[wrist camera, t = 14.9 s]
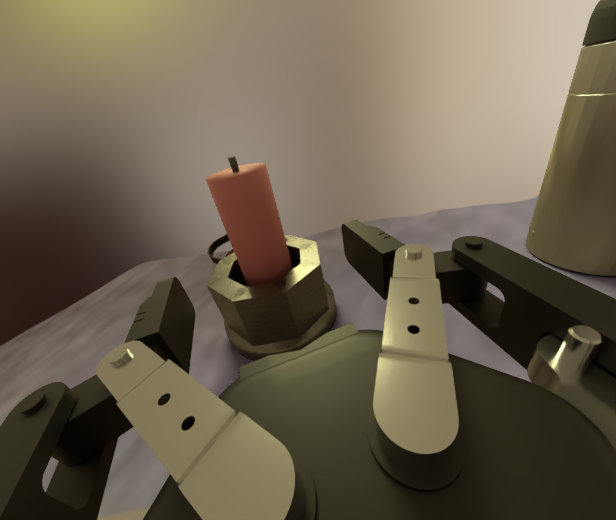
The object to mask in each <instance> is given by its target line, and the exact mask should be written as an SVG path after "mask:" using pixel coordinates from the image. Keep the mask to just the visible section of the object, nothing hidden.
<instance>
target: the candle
mask: <svg viewBox="0 0 616 520" xmlns="http://www.w3.org/2000/svg"><path fill="white" fill-rule="evenodd" d="M228 159H229V162H230V165H231V168H230V169H226V170H223V171H220V172H217V173H215V174H213V175H211V176H209V177H207V178H206V181H207V184H208V186H209V189H210V191H211V194H212V197H213V199H214V201H215V204H216V207H217V209H218V212H219V214H220V217H221V220H222V222H223V225H224V227H225V230H226V232H227V235H228V237H229V240H230V242H231V245H232V247H233V250H234V253H235V255H236V258H237V260H238V263H239V265H240V268H241V271H242V273H243V276H244V278H245V281H246V283H247V286H252V285H257V284H263V283H268V282H273V281H278V280H279V279H281V278H282V277H283V276H285V275H286V274H287V273H289V272H290V271H291V270H293V267H292V263H291V259H290V255H289V251H288V248H287V244H286V240H285V236H284V232H283V229H282V225H281V221H280V217H279V213H278V210H277V206H276V202H275V198H274V194H273V191H272V187H271V183H270V179H269V175H268V172H267V168H266V164H263V163H254V164H247V165H242V166H238V164H237V161H236V158H235V156H233V157H229V158H228Z"/></svg>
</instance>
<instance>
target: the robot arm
mask: <svg viewBox="0 0 616 520" xmlns="http://www.w3.org/2000/svg"><path fill="white" fill-rule="evenodd" d="M584 45H586V46H585V47H583V48H582V49H581V52H580V55H579V59H578V62H577V66H576V69H575V73H574V76H573V79H572V83H571V86H570V90H569V94H568V97H567V100H566V104H565V107H564V111H563V114H562V117H561V121H560V124H559V128H558V131H557V135H556V138H555V142H554V145H553V149H552V152H551V155H550V159H549V162H548V166H547V169H546V173H545V176H544V180H543V183H542V187H541V190H540V193H539V197H538V200H537V204H536V207H535V211H534V214H533V218H532V221H531V223H530V227H529V232H528V235H527V239H526V246H527V248H528V250H529V251H530V252H531V253H532V254H533V255H535V256H536V257H538V258H539V259H541V260H543V261H545V262H548V263H550V264H552V265H555V266H558V267H561V268H564V269H568V270H572V271H576V272H581V273H587V274H593V275H603V276H616V0H600V1H599V3H598V4H597V5H596V7H595V9H594V11H593V13H592V15H591V18H590V21H589V24H588V27H587V30H586V34H585V38H584V41H583V46H584ZM342 236H343V243H344V251H345V255H346V258H347V260H348V262H349V263H350V264H351V265H352V266H353V268H354V269H355V270H356V271H357V272H358V273H359V274H360V275H361V276H362V277H363V278H364V279H365V280H366V281H367V282H368V283H369V284H370V285H371V286H372V287H373V288H374V289H375V291H376V292H377V293H378V294H379V295H380V296H381V297H382V298H383V299H384V300H386V299H388V301H387V309H386V317H385V325H384V331H379V330H357V329H356V327H355V326H354V325H353V323H351V324H348V325H346V326H343V327H341V328H338V329H335V330H333V331H330V332H328V333H326V334H324V335H323V336H321V337H320V338H318V339H317V340H315V341H314V342H312V343H311V344H309V345H308V346H306V347H304V348H303V349H301V350H298V351H293V352H287V353H281V354H276V355H270V356H267V357H264V358H262V359H259V360H256V361H254V362H251V363H249V364H246V365H244V366H241V367H239V370H240V378H239V379H237V380H236V381H235V382H233V383H232V384H231V385H230V386H228V387H227V388H226V389H225V390H224V391H223V392H222V393H221V395H220V396H219V397H217V396H216V395H214V394H213V393H212V392H210V391H209V390H208V389H207V388H205V387H204V386H203V385H202V384H200V383H199V382H198V381H196V380H195V379H194V378H193V377H191V376H190V375H189V367H190V359H191V350H192V341H193V332H194V323H195V310H194V307H193V305H192V303H191V301H190V299H189V297H188V296H187V294H186V292H185V290H184V288H183V287H182V285H181V283H180V281H179V280H178V279H177V278H176V277H174V278H171V279H168V280H165V281H162V282H158V283H157V284H156V287H155V289H154V292H153V294H152V296H151V297H148V298H147V299H146V300H145V301H144V302H143V303H142V305H141V306H140V307H139V310H138V312H137V314H136V315H137V316H136V317H135V319H134V321H133V322H134V323H133V324H132V326H131V329H130V331H129V333H128V336H127V338H126V340H125V343H124V344H122V345H120V346H118V347H117V348H115V349H114V350H112V351H111V352H110V353H108V354H107V355H106V356H105V357H104V358H103V359H102V360H101V362H100V363H99V365H98V367H97V369H96V374H97V375H95V376H93V377H91V378H90V379H88V380H86V381H84V382H83V383H81V384H79V385H77V386H75V387H74V388H72V389H70V388H68V387H67V386H66V385H65V384H64V383H62V382H54V383H51V384H48V385H46V386H43V387H41V388H39V389H38V390H36V391H34V392H33V393H31V394H30V395H28V396H27V397H26V398H25V399H23V400H22V401H21V402H20V403H19V404H18V405H17V406H16V407H15V408H14V409H13V410H12V411H11V412H10V413H9V415H8V416H7V418H6V419H5V421H4V422H3V424H2V425H1V427H0V520H97V517H98V513H99V510H100V506H101V502H102V498H103V494H104V490H105V486H106V483H107V479H108V475H109V471H110V467H111V463H112V460H113V456H114V452H115V448H116V444H117V440H118V437H119V436H120V435H122V434H123V433H125V432H126V431H128V430H129V429H131V428H132V427H134V428H135V429H136V430H137V431H138V433H139V434H140V435H141V437H142V438H143V439H144V441H145V442H146V443H147V444H148V446H149V447H150V448H151V450H152V451H153V452H154V454H155V455H156V456H157V457H158V459H159V460H160V461H161V463H162V464H163V465H164V466H165V468H166V469H167V470H168V472H169V473H170V476H169V477H168V479H167V481H166V482H165V484H164V486H163V487H162V489H161V490H160V492H159V494H158V495H157V497H156V499H155V500H154V502H153V504H152V505H151V507H150V509H149V510H148V512H147V514H146V515H145V517H144V519H143V520H616V299H614V298H612V297H610V296H608V295H606V294H603V293H601V292H599V291H597V290H595V289H593V288H591V287H589V286H586V285H584V284H582V283H580V282H578V281H576V280H574V279H572V278H569V277H567V276H565V275H563V274H561V273H559V272H557V271H554V270H552V269H550V268H548V267H546V266H544V265H542V264H540V263H537V262H535V261H533V260H531V259H529V258H527V257H525V256H522V255H520V254H518V253H516V252H514V251H512V250H510V249H508V248H505V247H503V246H501V245H499V244H497V243H495V242H493V241H490V240H488V239H486V238H482V237H476V236H466V237H460V238H458V239H456V240H454V241H453V244H452V250H451V251H444V252H437V253H433V251H432V250H431V249H430V248H428V247H426V246H423V245H417V244H411V245H404V244H402V243H401V242H399V241H398V240H396V239H395V238H393V237H392V236H391V237H390V235H388V234H387V233H385V232H384V231H382V230H381V229H379V228H376V227H372V226H365V225H364V224H363V223H361V222H360V221H358V220H355V221H351V222H348V223H345V224H343V225H342ZM488 282H489V283H491V284H492V285H494V286H495V287H497V288H498V289H499V290H500V291H501V292H502V293H503V295H504V298H505V302H503V301H502V300H500V299H499V298H497V297H496V296H494V295H493V294H492V293H490V292H489V291H487V290H486V288H487V283H488ZM444 303H449V304H450V305H451V306H453V307H454V308H455V309H456V310H457V311H458V312H460V313H461V314H462V315H463V316H464V317H465V318H467V319H468V320H469V321H470V322H471V323H472V324H474V325H475V326H476V327H477V328H478V329H480V330H481V331H482V332H483V333H484V334H485V335H487V336H488V337H489V338H490V339H491V340H492V341H494V342H495V343H496V344H497V345H498V346H499V347H501V348H502V349H503V350H504V351H505V352H506V353H508V354H509V355H510V356H511V357H512V358H513V359H515V360H516V361H517V362H518V363H519V364H520V365H522V366H523V367H524V368H525V369H526V370H527V373H528V376H529V378H530V380H531V382H532V383H531V382H529V381H526V380H523V379H520V378H517V377H514V376H512V375H509V374H506V373H503V372H500V371H497V370H495V369H492V368H489V367H486V366H483V365H480V364H477V363H475V362H472V361H469V360H466V359H463V358H460V357H458V356H455V355H452V354H449V353H448V350H447V342H446V333H445V325H444V317H443V308H442V304H444ZM51 457H53V458H55V459H56V460H58V461H59V462H58V465H57V467H56V469H55V472H54V474H53V477H52V479H51V481H50V484H49V486H48V488H47V491H46V493H45V492H44V490H43V486H42V478H43V474H44V471H45V469H46V467H47V465H48V463H49V460H50V458H51Z"/></svg>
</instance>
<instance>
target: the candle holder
mask: <svg viewBox="0 0 616 520" xmlns="http://www.w3.org/2000/svg"><path fill="white" fill-rule="evenodd" d="M285 240H286V244H287V248H288V251H289V255H290V259H291V263H292V267H293V270H291V271H290V272H289V273H287V274H286V275H285V276H283V277H282V278H281V279H279V280H278V281H273V282H268V283H263V284H257V285H252V286H247V283H246V281H245V278H244V276H243V273H242V271H241V268H240V265H239V263H238V260H237V258H236V255H235V253H232V254H230V255H229V256H227V257H225V258H223V259H222V260H220V261H219V262H218V264H217V266H216V269H215V271H214V273H213V275H212V277H211V279H210V281H209V283H208V285H207V286H208V288H209V290H210V292H211V294H212V296H213V298H214V300H215V302H216V304H217V306H218V308H219V310H220V312H221V314H222V316H223V318H224V320H225V323H224V324H225V330H226V332H227V335H228V337H229V339H230V341H231V342H232V344H233V346H234V348H235V349H236V350H237V351H238V352H239V353H240V354H242V355H243V356H245V357H247V358H249V359H252V360H259V359H262V358H264V357H267V356H270V355H276V354H281V353H287V352H293V351H298V350H301V349H303V348H304V347H306V346H308V345H309V344H311V343H312V342H314V341H315V340H317V339H318V338H320V337H321V336H323V335H324V334H326V333H328V332H329V331H330V329H331V328H332V326H333V323H334V321H335V317H336V305H335V300H334V294H333V291H332V289H331V287H330V285H329V284H328V283H327V282H326V281H325V280H324V279H323V274H322V269H321V264H320V258H319V253H318V248H317V243H316V242H314V241H310V240H306V239H302V238H298V237H294V236H289V235H285Z"/></svg>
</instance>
